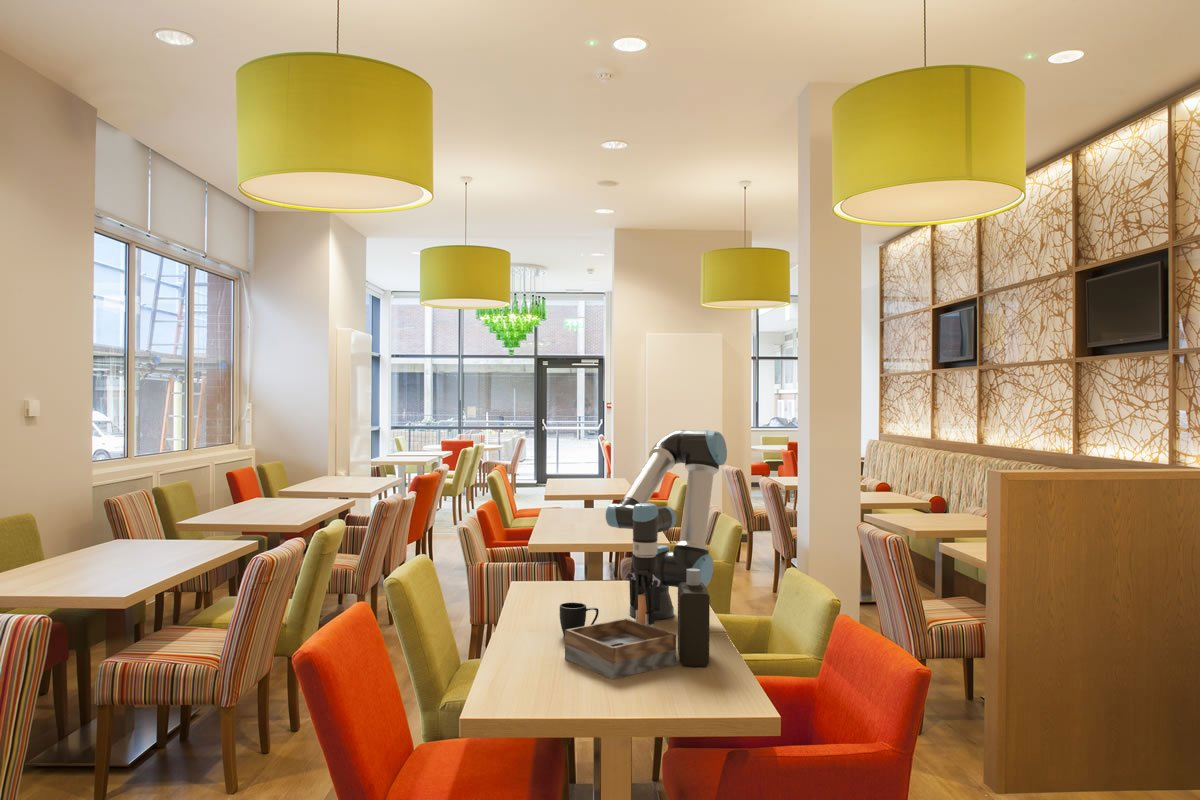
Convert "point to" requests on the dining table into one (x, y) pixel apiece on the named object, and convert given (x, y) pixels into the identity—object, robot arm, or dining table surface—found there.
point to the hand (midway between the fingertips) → (644, 632)
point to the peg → (641, 608)
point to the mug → (574, 615)
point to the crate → (620, 647)
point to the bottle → (693, 621)
